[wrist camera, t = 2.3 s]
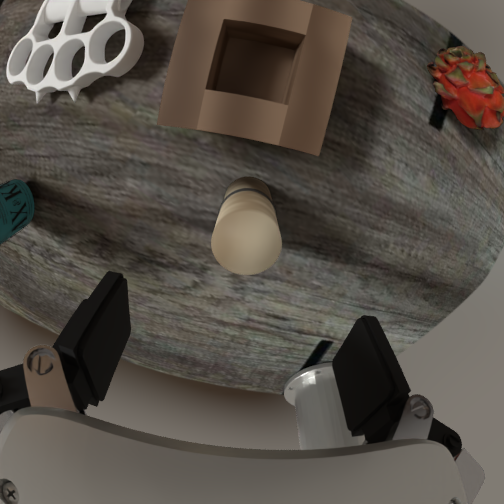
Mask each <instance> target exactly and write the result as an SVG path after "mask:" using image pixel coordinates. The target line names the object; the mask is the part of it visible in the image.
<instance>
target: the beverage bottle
mask: <svg viewBox="0 0 504 504" xmlns="http://www.w3.org/2000/svg"><path fill="white" fill-rule="evenodd" d="M33 215H34V200H33V196H32V193H31V191H30V189H29V187H28V186H27V185H26V183H24V182H23V181H21V180H11V181H9V180H8V182H7V181H6V183H5V184H3V183H2V185H1V184H0V245H1V243H3V242H4V241H5V242H6V241H7V239H8V238H10V237H11V236H12V235H13V236H14V234H15V233H16V232H18V231H19V230H21V229H22V228H23V229H24V227H25V226H27V225H28V224H29V222H30V221H31V220H32V218H33ZM23 229H22V230H23ZM22 230H21V231H22ZM18 233H19V232H18ZM15 235H16V234H15ZM11 238H12V237H11ZM5 242H4V243H5Z"/></svg>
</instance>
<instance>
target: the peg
mask: <svg viewBox="0 0 504 504" xmlns="http://www.w3.org/2000/svg"><path fill="white" fill-rule="evenodd" d="M211 246H212V251H213V254H214V256H215V258H216V260H217V261H218V262H219V263H220V264H221V265H222V266H223V267H224V268H226V269H227V270H229V271H231V272H233V273H236V274H241V275H253V274H257V273H260V272H263V271H265V270H266V269H268V268H269V267H271V266H272V265H273V264H274V263H275V261H276V260H277V259H278V257H279V255H280V252H281V248H282V239H281V235H280V230H279V226H278V222H277V213H276V209H275V206H274V203H273V202H272V198H271V194H270V191H269V189H268V187H267V185H266V184H265V183H264V182H262V181H261V180H259V179H257V178H254V177H242V178H239V179H237V180H235V181H234V182H232V183H231V184H230V186H229V187H228V189H227V191H226V194H225V197H224V200H223V202H222V203H221V206H220V208H219V212H218V219H217V222H216V225H215V228H214V232H213V235H212V240H211Z"/></svg>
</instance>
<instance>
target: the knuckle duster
mask: <svg viewBox="0 0 504 504" xmlns="http://www.w3.org/2000/svg"><path fill="white" fill-rule="evenodd" d="M131 2H132V0H45V1H44V3H43V4H42V6H41V8H40V10H39V13H38V15H37V18H36V21H35V23H34V26H33V27H32V28H31V30H30V31H29V33H28V34H27V35H26V36H24V37H23V38H22V39H21V40H20V41H19V42H18V43H17V44H16V46H15V47H14V49H13V51H12V52H11V55H10V57H9V60H8V64H7V78H8V80H9V82H10V83H11V84H25V85H26V86H27V89H29V90H32V91H35V92H36V100H37V104H38V103H39V101H40V100H41V99H42V98H43V97H44V95H45V94H46V93H47V92H55V91H56V90H59V91H68V92H69V94H70V95H71V97H72V99H73V100H74V102H76V99H77V97H78V95H79V93H80V90H81V89H82V88H85V87H88V86H89V85H90V84H91V83H92V82H94V81H95V80H96V79H98V78H100V77H103V76H114V77H120V76H122V75H124V74H125V73H127V72H128V71H129V70H130V69H131V68H132V67H133V66H134V65H135V64H136V63H137V61H138V60H139V58H140V56H141V54H142V51H143V47H144V37H143V34H142V32H141V31H140V29H139V28H137V27H136V26H135V25H133V24H132V23H130V22H129V21H127V20H126V18H125V14H126V11H127V8H128V7H129V5H130V4H131ZM103 13H107V15H106V17H105V19H104V20H102V21H101V22H100V23H98V24H97V25H96V26H95V27H94V28H93V29H92V30H91V31H90V32H87V33H81V32H82V29H83V26H84V23H85V20H86V17H87V16H90V15H96V14H103ZM61 21H64V22H63V25H62V28H61V31H60V33H59V34H58V35H57V36H56V37H55V38H53V39H50V38H49V37H48V34H49V32H50V31H51V29H52V28H53V26H54V23H57V22H61ZM122 29H125V31H126V40H125V45H124V48H123V50H122V51H121V53H120V54H119V55H118V56H117V57H116V58H115V59H114V60H113V61H111V62H109V63H106V61H105V45H106V42H107V41H108V39H109V38H110V37H111V36H112V35H113V34H114V33H115V32H117V31H119V30H122ZM83 46H85V60H84V64H83V66H82V68H81V70H80V72H79V73H78V74H77V75H76V76H75V77H74V78H73V76H72V60H73V57H74V55H75V54H76V52H77V51H78V50H79V49H80V48H81V47H83ZM31 50H32V52H31V55H30V57H29V60H28V62H27V64H26V61H27V58H28V56H29V54H30V51H31ZM53 52H54V58H53V61H52V64H51V66H50V68H49V71H48V73H47V75H46V76H45V78H43V72H44V68H45V65H46V63H47V61H48V59H49V57H50V56H51V54H52V53H53ZM25 64H26V66H25Z"/></svg>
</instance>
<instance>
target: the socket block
mask: <svg viewBox="0 0 504 504" xmlns="http://www.w3.org/2000/svg"><path fill="white" fill-rule="evenodd" d="M351 22H352V17H349V16H347V15H344V14H341V13H339V12H336V11H333V10H330V9H327V8H324V7H321V6H317V5H314V4H311V3H307V2H304V1H300V0H188V2H187V5H186V8H185V11H184V14H183V17H182V20H181V23H180V27H179V30H178V33H177V37H176V40H175V44H174V48H173V51H172V55H171V59H170V63H169V67H168V71H167V76H166V80H165V85H164V89H163V94H162V99H161V104H160V110H159V115H158V121H157V125H164V126H173V127H181V128H188V129H195V130H202V131H208V132H214V133H220V134H226V135H231V136H237V137H242V138H247V139H252V140H256V141H261V142H265V143H270V144H274V145H278V146H283V147H287V148H291V149H294V150H298V151H302V152H306V153H309V154H313V155H317V156H319V154H320V150H321V147H322V143H323V139H324V136H325V132H326V128H327V124H328V120H329V117H330V113H331V109H332V105H333V101H334V97H335V93H336V89H337V84H338V80H339V76H340V72H341V68H342V63H343V59H344V54H345V50H346V45H347V41H348V36H349V31H350V27H351Z"/></svg>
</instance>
